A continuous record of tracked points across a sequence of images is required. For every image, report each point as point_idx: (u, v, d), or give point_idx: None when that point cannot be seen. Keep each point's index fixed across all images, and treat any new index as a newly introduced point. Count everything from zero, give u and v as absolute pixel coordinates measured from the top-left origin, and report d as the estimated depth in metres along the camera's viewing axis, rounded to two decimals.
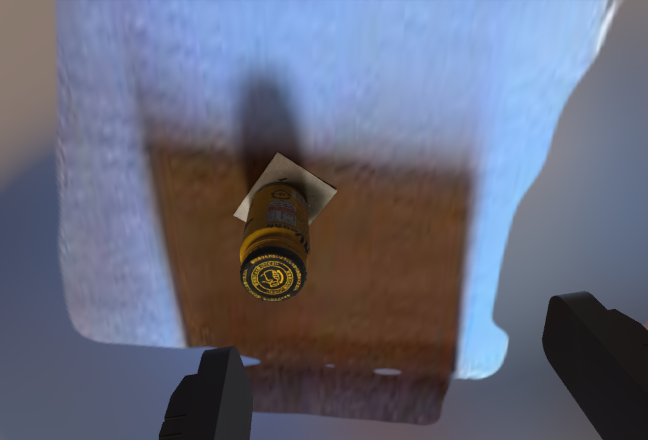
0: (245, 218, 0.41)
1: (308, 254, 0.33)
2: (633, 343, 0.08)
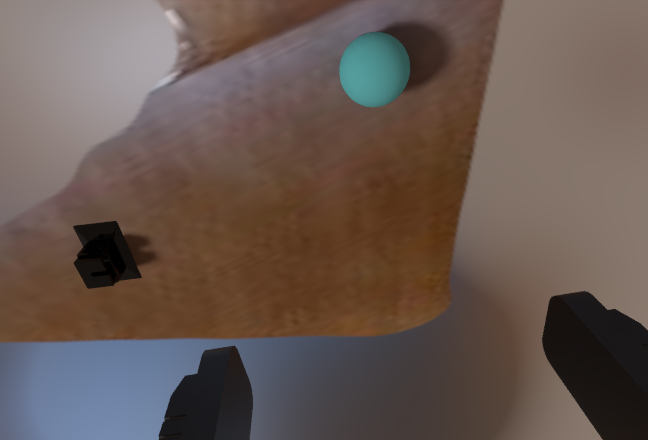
0: None
1: None
2: (633, 343, 0.08)
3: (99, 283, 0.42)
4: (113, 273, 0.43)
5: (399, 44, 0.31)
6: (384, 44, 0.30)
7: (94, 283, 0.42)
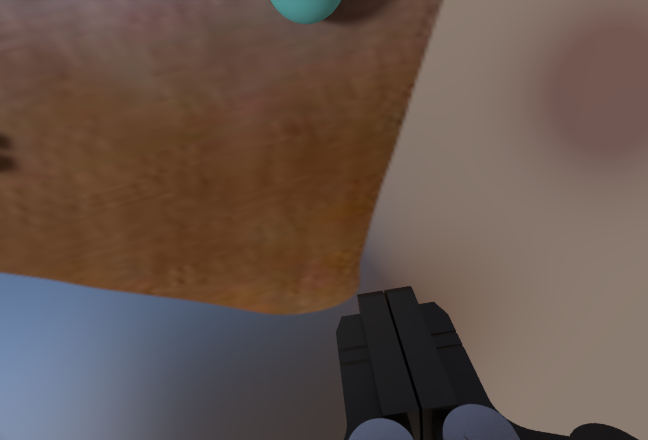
0: None
1: None
2: (423, 330, 0.09)
3: None
4: None
5: None
6: None
7: None
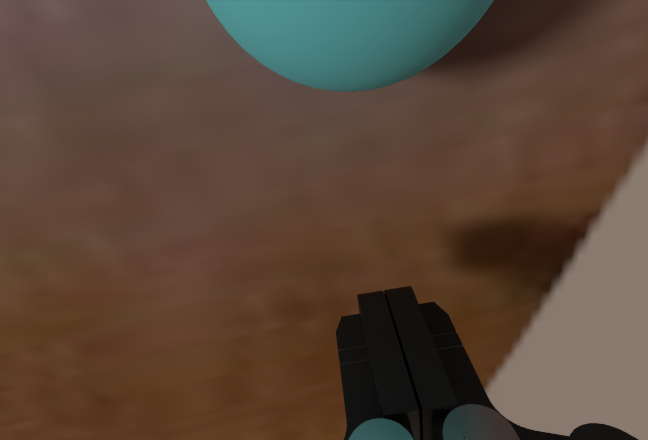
0: None
1: None
2: (423, 330, 0.09)
3: None
4: None
5: None
6: None
7: None
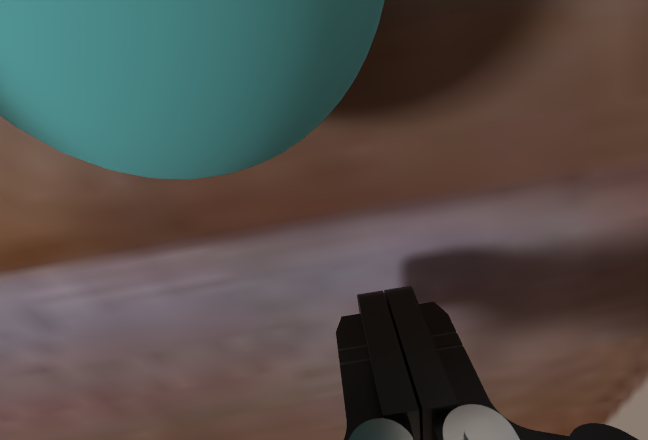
0: None
1: None
2: (423, 330, 0.09)
3: None
4: None
5: None
6: None
7: None
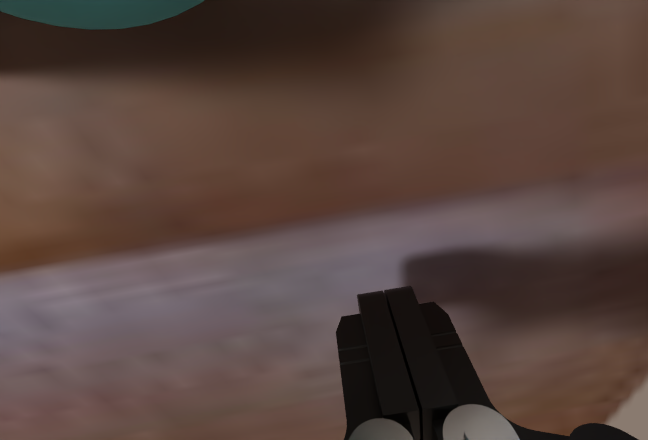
0: None
1: None
2: (423, 330, 0.09)
3: None
4: None
5: None
6: None
7: None
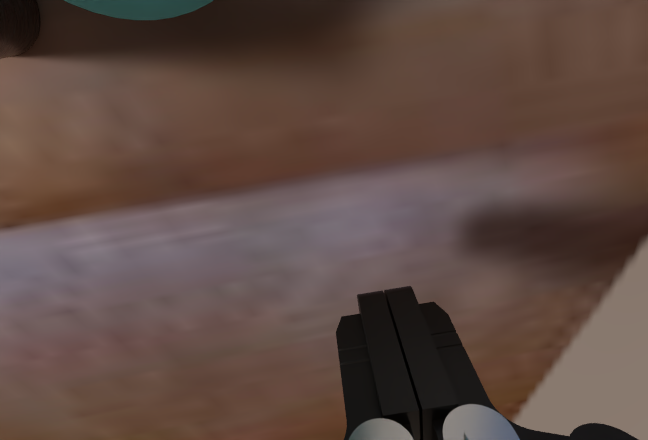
0: None
1: None
2: (423, 330, 0.09)
3: None
4: None
5: None
6: None
7: None
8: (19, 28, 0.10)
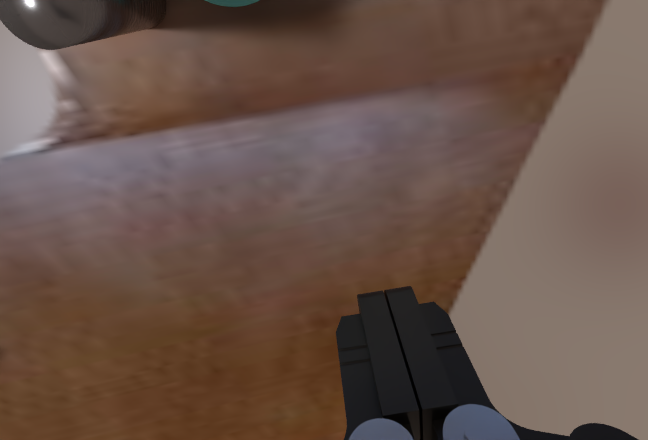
0: None
1: None
2: (423, 331, 0.09)
3: None
4: None
5: None
6: None
7: None
8: (159, 12, 0.19)
